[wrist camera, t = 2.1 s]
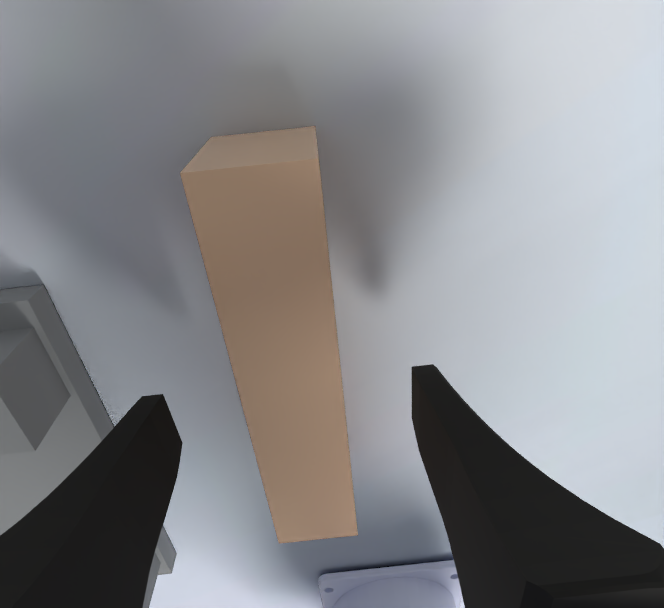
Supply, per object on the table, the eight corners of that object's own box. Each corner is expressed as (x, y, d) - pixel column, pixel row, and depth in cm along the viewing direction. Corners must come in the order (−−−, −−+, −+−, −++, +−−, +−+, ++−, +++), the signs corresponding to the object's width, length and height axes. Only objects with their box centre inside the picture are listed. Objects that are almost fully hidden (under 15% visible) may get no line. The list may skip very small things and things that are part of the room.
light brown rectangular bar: (349, 450, 20) (357, 535, 17) (283, 457, 20) (279, 543, 17) (315, 124, 13) (318, 158, 10) (212, 135, 13) (179, 172, 10)
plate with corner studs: (176, 553, 23) (157, 630, 20) (23, 570, 23) (-18, 649, 20) (43, 284, 15) (-21, 348, 12) (-195, 310, 15) (-318, 381, 12)
